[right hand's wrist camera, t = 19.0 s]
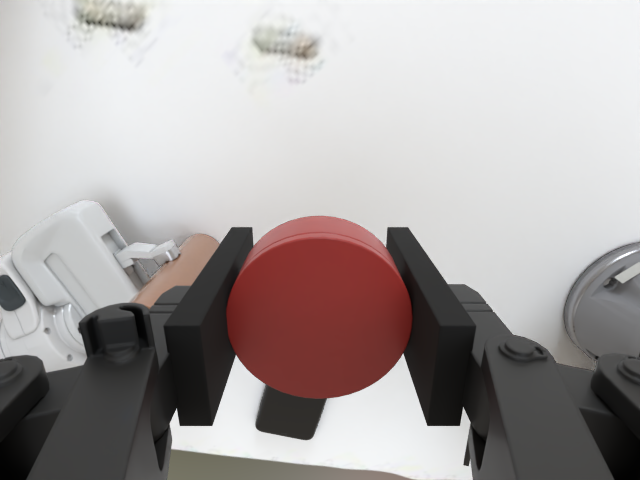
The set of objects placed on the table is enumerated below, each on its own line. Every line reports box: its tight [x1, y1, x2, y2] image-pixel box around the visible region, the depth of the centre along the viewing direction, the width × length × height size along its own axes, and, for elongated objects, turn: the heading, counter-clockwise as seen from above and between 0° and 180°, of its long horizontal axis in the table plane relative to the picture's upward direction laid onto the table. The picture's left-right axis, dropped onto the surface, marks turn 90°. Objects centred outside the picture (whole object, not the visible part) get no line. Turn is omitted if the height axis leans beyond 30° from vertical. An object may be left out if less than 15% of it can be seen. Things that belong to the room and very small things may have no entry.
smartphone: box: [255, 384, 327, 440], centre depth 47 cm, size 8×1×16 cm
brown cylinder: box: [128, 234, 220, 309], centre depth 33 cm, size 4×4×17 cm
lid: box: [226, 216, 413, 399], centre depth 11 cm, size 5×5×2 cm
